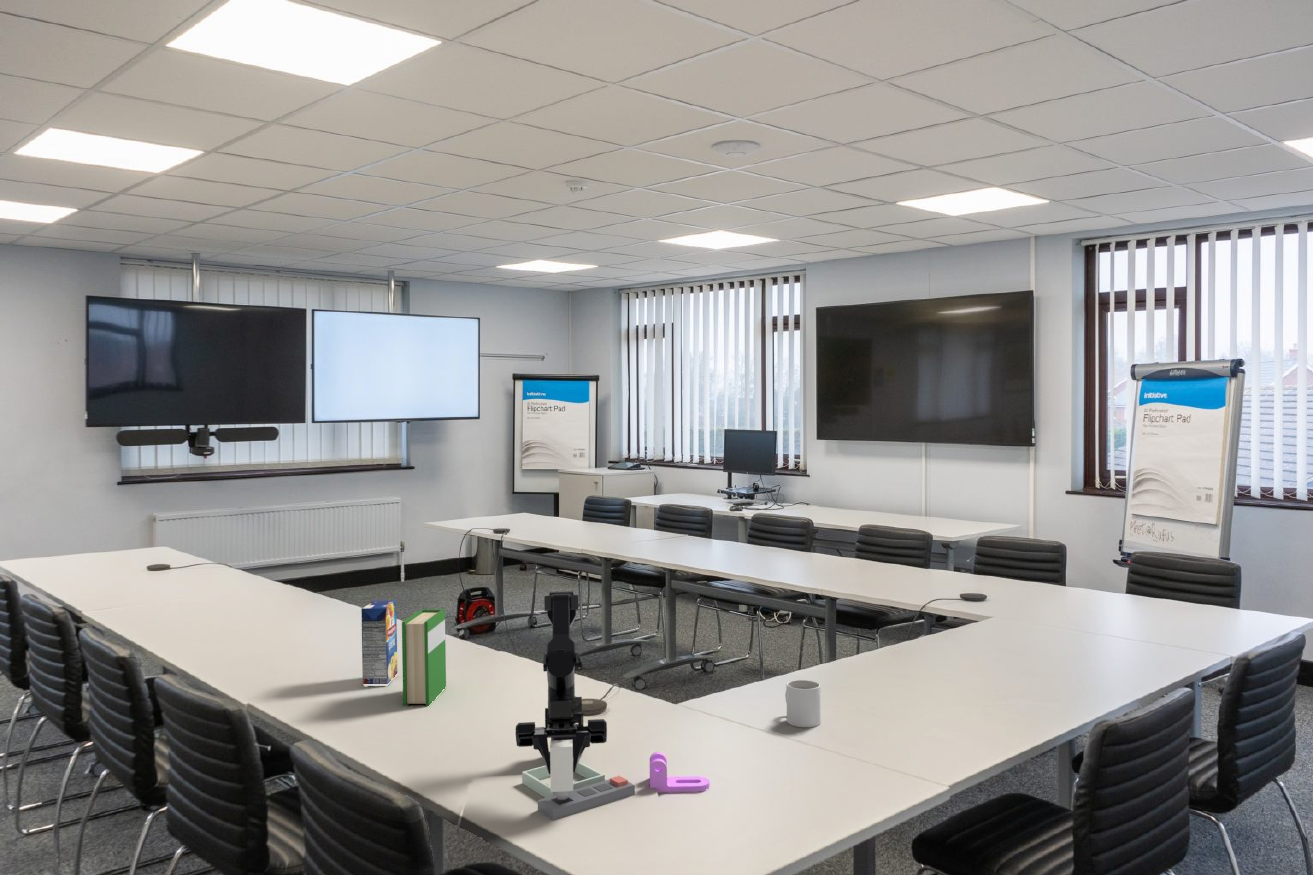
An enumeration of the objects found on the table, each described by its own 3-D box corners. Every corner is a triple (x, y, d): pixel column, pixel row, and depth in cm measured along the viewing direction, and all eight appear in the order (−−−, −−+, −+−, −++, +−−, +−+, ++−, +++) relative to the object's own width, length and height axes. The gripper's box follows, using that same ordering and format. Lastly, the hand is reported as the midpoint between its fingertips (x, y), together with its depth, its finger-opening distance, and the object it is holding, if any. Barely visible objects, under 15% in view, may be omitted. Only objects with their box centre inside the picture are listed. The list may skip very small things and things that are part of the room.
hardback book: (428, 706, 260) (427, 622, 260) (403, 706, 260) (401, 622, 260) (446, 688, 278) (444, 609, 277) (422, 688, 278) (420, 609, 278)
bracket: (649, 793, 197) (649, 761, 197) (649, 783, 203) (649, 751, 203) (710, 792, 197) (710, 760, 197) (708, 782, 203) (708, 750, 203)
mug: (820, 728, 237) (819, 689, 237) (783, 726, 239) (782, 688, 239) (821, 715, 248) (820, 678, 248) (785, 713, 250) (785, 676, 250)
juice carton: (374, 676, 292) (372, 601, 292) (397, 675, 293) (396, 600, 292) (362, 686, 280) (361, 608, 280) (387, 686, 281) (385, 608, 280)
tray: (522, 787, 201) (522, 771, 201) (572, 773, 209) (572, 757, 209) (553, 806, 190) (552, 790, 190) (605, 790, 198) (604, 774, 198)
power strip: (553, 825, 182) (552, 805, 182) (537, 815, 187) (537, 796, 187) (634, 798, 194) (634, 781, 194) (618, 790, 199) (618, 772, 199)
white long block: (551, 793, 188) (550, 740, 188) (573, 792, 189) (572, 739, 189) (550, 801, 184) (550, 747, 184) (573, 800, 185) (572, 746, 185)
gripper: (515, 684, 189) (512, 757, 178) (605, 680, 191) (609, 752, 180) (517, 710, 197) (515, 781, 186) (604, 706, 199) (607, 776, 188)
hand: (561, 772), depth 185 cm, fingers closed on white long block, 4 cm apart
